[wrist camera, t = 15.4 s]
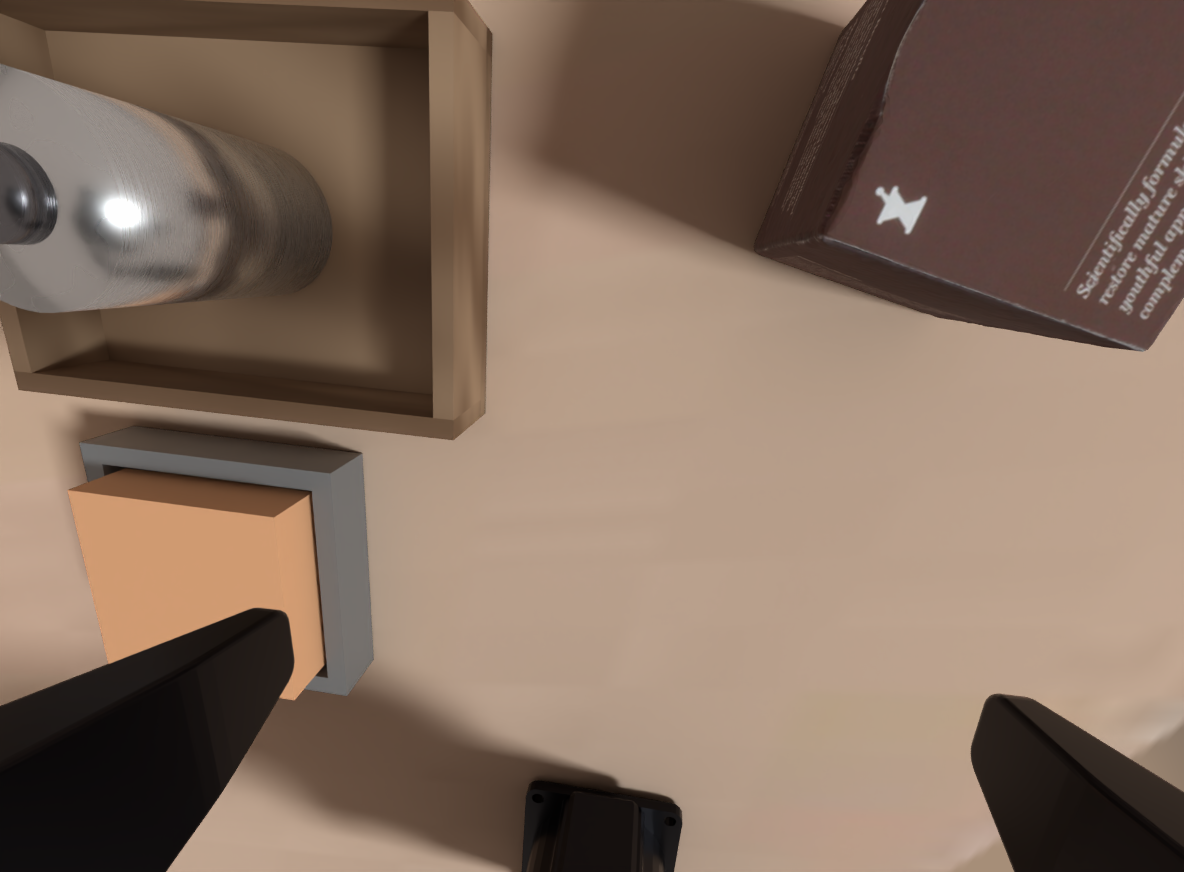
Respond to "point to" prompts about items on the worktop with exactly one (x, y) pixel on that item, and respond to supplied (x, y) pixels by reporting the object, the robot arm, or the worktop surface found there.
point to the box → (998, 165)
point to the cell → (144, 206)
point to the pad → (198, 560)
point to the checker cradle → (289, 467)
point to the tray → (348, 181)
